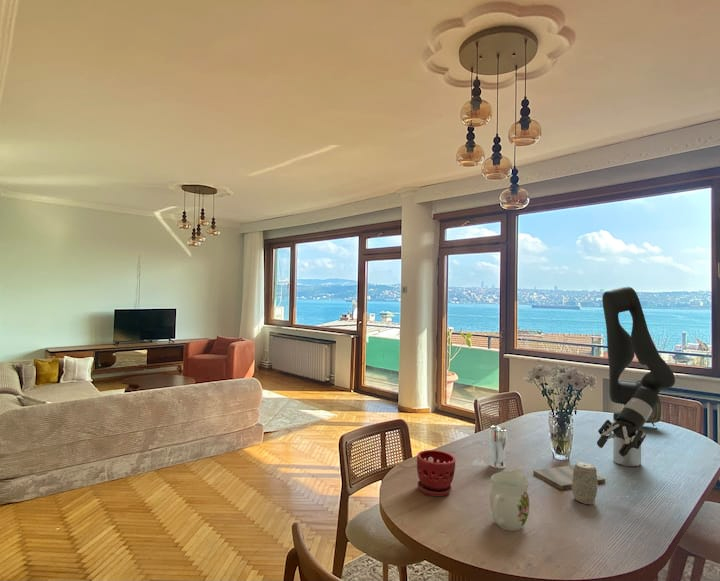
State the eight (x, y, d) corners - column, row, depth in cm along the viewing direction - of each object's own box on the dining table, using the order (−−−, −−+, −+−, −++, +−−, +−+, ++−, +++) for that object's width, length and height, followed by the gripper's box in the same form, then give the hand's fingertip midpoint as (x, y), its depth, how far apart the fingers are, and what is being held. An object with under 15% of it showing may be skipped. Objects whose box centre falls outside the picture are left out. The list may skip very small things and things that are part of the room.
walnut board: (574, 468, 169) (574, 464, 169) (605, 483, 156) (605, 479, 156) (533, 474, 163) (533, 470, 163) (561, 489, 150) (561, 485, 150)
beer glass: (508, 470, 167) (508, 431, 167) (489, 468, 168) (489, 430, 169) (505, 463, 174) (506, 426, 174) (487, 461, 175) (488, 425, 175)
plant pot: (431, 502, 139) (432, 465, 139) (409, 486, 150) (409, 452, 151) (463, 494, 145) (463, 459, 145) (438, 480, 156) (439, 447, 157)
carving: (596, 508, 137) (597, 470, 137) (570, 501, 141) (571, 465, 141) (598, 500, 142) (598, 464, 142) (572, 494, 146) (573, 459, 146)
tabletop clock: (631, 428, 226) (631, 381, 227) (623, 423, 235) (623, 378, 236) (661, 430, 224) (661, 382, 224) (652, 425, 233) (652, 379, 233)
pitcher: (475, 530, 122) (476, 482, 122) (503, 509, 135) (503, 465, 135) (513, 546, 114) (513, 494, 115) (538, 521, 128) (538, 475, 128)
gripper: (611, 402, 155) (586, 436, 151) (648, 412, 142) (622, 450, 138) (622, 416, 157) (598, 450, 153) (660, 427, 143) (634, 465, 139)
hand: (609, 450), depth 145 cm, fingers open, 8 cm apart
